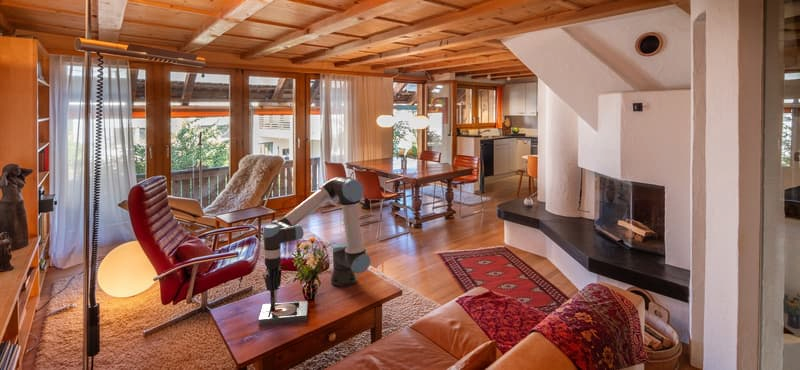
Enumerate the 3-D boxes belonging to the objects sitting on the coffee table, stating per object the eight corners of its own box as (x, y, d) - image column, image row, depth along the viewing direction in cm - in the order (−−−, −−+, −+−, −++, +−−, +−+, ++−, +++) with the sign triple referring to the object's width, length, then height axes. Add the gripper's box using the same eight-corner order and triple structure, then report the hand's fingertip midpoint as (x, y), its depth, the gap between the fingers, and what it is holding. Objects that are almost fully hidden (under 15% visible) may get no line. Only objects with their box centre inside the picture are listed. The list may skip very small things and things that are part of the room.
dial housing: (307, 307, 215) (307, 300, 214) (306, 321, 199) (306, 314, 199) (263, 310, 211) (263, 303, 210) (258, 326, 195) (258, 318, 195)
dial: (295, 305, 212) (295, 289, 211) (297, 316, 201) (296, 299, 199) (271, 308, 208) (270, 292, 207) (271, 320, 197) (270, 302, 196)
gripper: (274, 251, 209) (275, 295, 213) (257, 259, 197) (259, 306, 201) (286, 253, 206) (288, 298, 210) (270, 262, 194) (272, 309, 198)
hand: (274, 302), depth 205 cm, fingers closed
